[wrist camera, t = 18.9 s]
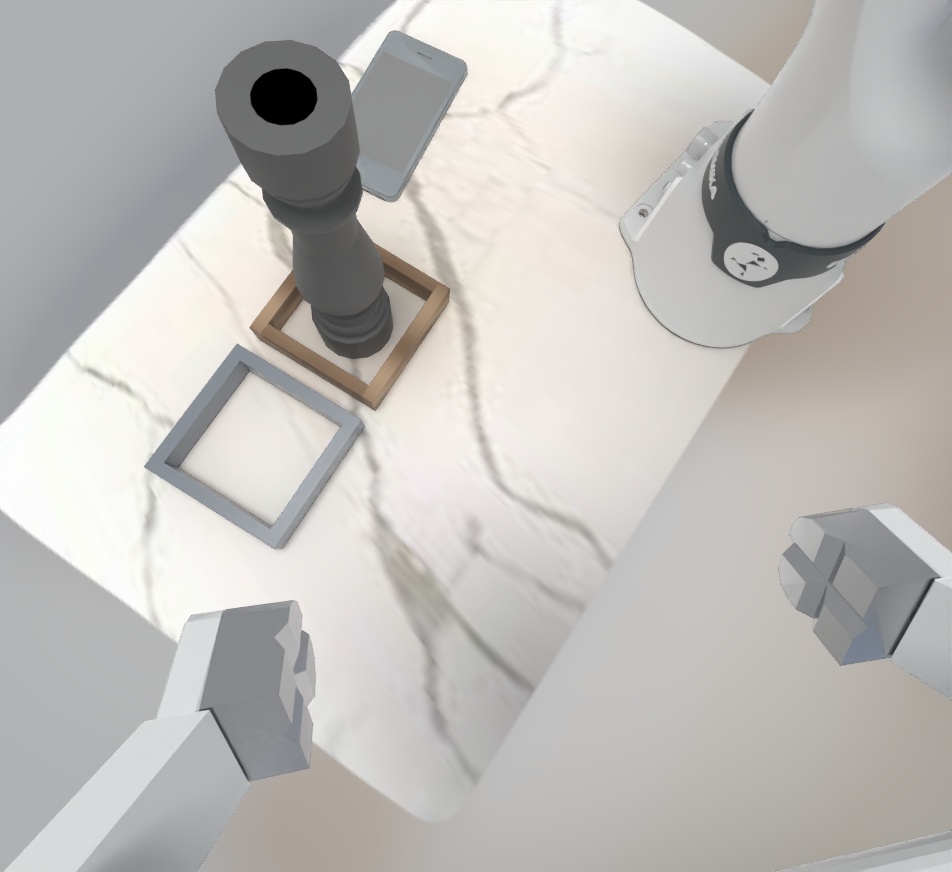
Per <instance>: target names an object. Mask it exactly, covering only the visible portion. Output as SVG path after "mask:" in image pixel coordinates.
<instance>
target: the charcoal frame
mask: <svg viewBox="0 0 952 872" xmlns="http://www.w3.org/2000/svg"><path fill="white" fill-rule="evenodd" d="M249 371H251V372H253V373H255V374H256V375H258V376H260V377H261V378H263V379H264V380H266V381H268V382H269V383H271V384H273V385H274V386H276V387H277V388H279V389H281V390H282V391H284V392H285V393H287V394H289V395H290V396H292V397H294V398H295V399H297V400H298V401H300V402H302V403H303V404H305V405H307V406H308V407H310V408H311V409H313V410H315V411H316V412H318V413H319V414H321V415H323V416H324V417H326V418H328V419H329V420H331V421H332V422H334V423H336V424H337V425H339V426H341V427H340V429H339V430H338V431H337V433H336V434H335V436H334V437H333V439H332V440H331V442H330V443H329V445H328V446H327V448H326V449H325V450H324V452H323V453H322V455H321V456H320V458H319V459H318V461H317V462H316V464H315V465H314V467H313V468H312V469H311V471H310V472H309V474H308V475H307V477H306V478H305V480H304V481H303V483H302V484H301V486H300V487H299V488H298V490H297V491H296V493H295V494H294V496H293V497H292V499H291V500H290V502H289V503H288V505H287V506H286V507H285V509H284V510H283V512H282V513H281V515H280V516H279V518H278V519H277V521H276V522H275V524H274V525H273V526H270V525H269V524H267V523H265V522H264V521H262V520H261V519H259V518H257V517H256V516H254V515H253V514H251V513H249V512H248V511H246V510H245V509H243V508H241V507H240V506H238V505H237V504H235V503H234V502H232V501H230V500H229V499H227V498H226V497H224V496H222V495H221V494H219V493H218V492H216V491H214V490H213V489H211V488H210V487H208V486H206V485H205V484H203V483H202V482H200V481H199V480H197V479H195V478H194V477H192V476H191V475H189V474H187V473H186V472H184V471H183V470H181V469H179V468H178V467H179V465H180V464H181V462H182V461H183V460H184V458H185V457H186V456H187V454H188V453H189V452H190V450H191V449H192V448H193V446H194V445H195V444H196V442H197V441H198V440H199V438H200V437H201V436H202V434H203V433H204V431H205V430H206V429H207V427H208V426H209V425H210V423H211V422H212V421H213V419H214V418H215V417H216V415H217V414H218V413H219V411H220V410H221V409H222V407H223V406H224V405H225V403H226V402H227V400H228V399H229V398H230V396H231V395H232V394H233V392H234V391H235V390H236V388H237V387H238V386H239V384H240V383H241V382H242V380H243V379H244V378H245V376H246V375H247V374H248V372H249ZM363 428H364V425H363V423H362V421H361V420H360V419H359V418H357V417H356V416H354V415H352V414H351V413H349V412H347V411H346V410H344V409H343V408H341V407H339V406H338V405H336V404H334V403H333V402H331V401H330V400H328V399H326V398H325V397H323V396H321V395H320V394H318V393H317V392H315V391H313V390H312V389H310V388H308V387H307V386H305V385H304V384H302V383H300V382H299V381H297V380H295V379H294V378H292V377H291V376H289V375H287V374H286V373H284V372H282V371H281V370H279V369H278V368H276V367H274V366H273V365H271V364H270V363H268V362H266V361H265V360H263V359H261V358H260V357H258V356H257V355H255V354H253V353H252V352H250V351H248V350H247V349H245V348H244V347H242V346H240V345H239V344H236V346H235V347H234V348H233V350H232V351H231V352H230V354H229V355H228V356H227V358H226V359H225V360H224V361H223V363H222V364H221V365H220V367H219V368H218V369H217V371H216V372H215V373H214V375H213V376H212V377H211V379H210V380H209V381H208V383H207V384H206V385H205V387H204V388H203V389H202V391H201V392H200V393H199V395H198V396H197V397H196V399H195V400H194V401H193V402H192V404H191V405H190V406H189V408H188V409H187V410H186V412H185V413H184V414H183V416H182V417H181V418H180V420H179V421H178V422H177V424H176V425H175V426H174V428H173V429H172V430H171V432H170V433H169V434H168V436H167V437H166V438H165V439H164V441H163V442H162V443H161V445H160V446H159V447H158V449H157V450H156V451H155V453H154V454H153V455H152V457H151V458H150V459H149V461H148V462H147V463H146V465H145V466H144V467H145V468H146V469H148V470H150V471H151V472H153V473H154V474H156V475H158V476H159V477H161V478H162V479H164V480H165V481H167V482H169V483H170V484H172V485H173V486H175V487H177V488H178V489H180V490H181V491H183V492H185V493H186V494H188V495H189V496H191V497H192V498H194V499H196V500H197V501H199V502H200V503H202V504H204V505H205V506H207V507H208V508H210V509H212V510H213V511H215V512H216V513H218V514H219V515H221V516H223V517H224V518H226V519H227V520H229V521H231V522H232V523H234V524H235V525H237V526H239V527H240V528H242V529H243V530H245V531H246V532H248V533H250V534H251V535H253V536H254V537H256V538H258V539H259V540H261V541H262V542H264V543H266V544H267V545H269V546H270V547H272V548H273V549H282V548H283V547H284V546H285V544H286V543H287V541H288V540H289V538H290V537H291V535H292V534H293V532H294V531H295V529H296V528H297V526H298V525H299V523H300V522H301V520H302V519H303V517H304V516H305V514H306V513H307V511H308V510H309V508H310V507H311V505H312V504H313V502H314V501H315V500H316V498H317V497H318V495H319V494H320V492H321V491H322V489H323V488H324V486H325V485H326V483H327V482H328V480H329V479H330V477H331V476H332V474H333V473H334V471H335V470H336V468H337V467H338V465H339V464H340V462H341V461H342V459H343V458H344V456H345V455H346V454H347V452H348V451H349V449H350V448H351V446H352V445H353V443H354V442H355V440H356V439H357V437H358V436H359V434H360V433H361V431H362V430H363Z"/></svg>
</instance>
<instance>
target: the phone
mask: <svg viewBox="0 0 952 872" xmlns="http://www.w3.org/2000/svg"><path fill="white" fill-rule="evenodd" d="M466 75H467V65H466V63H465V62H464V61H463V60H461V59H459V58H457V57H454V56H452V55H450V54H448V53H446V52H443V51H441V50H439V49H437V48H435V47H432V46H430V45H428V44H426V43H424V42H421V41H419V40H417V39H415V38H412V37H410V36H408V35H406V34H404V33H401V32H399V31H391V32H389V33H388V35H387V36H386V38H385V40H384V41H383V43H382V45H381V46H380V48H379V50H378V51H377V53H376V55H375V56H374V58H373V60H372V61H371V63H370V65H369V66H368V68H367V70H366V71H365V73H364V75H363V76H362V78H361V80H360V81H359V83H358V85H357V86H356V88H355V90H354V91H353V93H352V94H351V97H352V103H353V109H354V115H355V120H356V126H357V132H358V140H359V147H360V154H359V157H358V160H357V163H356V167H357V169H358V170H359V172H360V176H361V184H362V188H363V189H365V190H367V191H369V192H370V194H371V195H373V196H376V197H378V198H380V199H382V200H384V201H387V202H395V201H397V200H398V199H399V197H400V195H401V193H402V191H403V190H404V188H405V186H406V184H407V182H408V181H409V179H410V177H411V175H412V173H413V171H414V170H415V168H416V166H417V164H418V162H419V161H420V159H421V157H422V155H423V153H424V152H425V150H426V148H427V146H428V144H429V142H430V141H431V139H432V137H433V135H434V133H435V132H436V130H437V128H438V126H439V124H440V123H441V121H442V119H443V117H444V115H445V114H446V112H447V110H448V108H449V106H450V104H451V103H452V101H453V99H454V97H455V95H456V94H457V92H458V90H459V88H460V86H461V85H462V83H463V81H464V79H465V77H466Z"/></svg>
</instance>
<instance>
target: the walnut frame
mask: <svg viewBox="0 0 952 872" xmlns="http://www.w3.org/2000/svg"><path fill="white" fill-rule="evenodd" d="M374 245H375V246H376V248H377V249H378V251H379V253H380V254H381V256H382V261H383V268H384V276H386V277H388V278H389V279H391V280H393V281H394V282H396V283H397V284H399V285H401V286H402V287H404V288H406V289H407V290H409V291H411V292H412V293H414V294H416V295H417V296H419V297H421V298H422V299H424V300H426V303H425V304H424V306H423V307H422V309H421V310H420V312H419V313H418V315H417V316H416V317H415V319H414V320H413V322H412V323H411V325H410V326H409V328H408V329H407V331H406V332H405V334H404V335H403V336H402V338H401V339H400V341H399V342H398V344H397V345H396V347H395V348H394V350H393V351H392V353H391V354H390V355H389V357H388V358H387V360H386V361H385V363H384V364H383V366H382V367H381V369H380V370H379V372H378V373H377V374H376V376H375V377H374V379H373V380H372V382H371V383H370V385H369V386H368V385H367V384H365V383H364V382H362V381H360V380H359V379H357V378H355V377H354V376H352V375H350V374H349V373H347V372H346V371H344V370H342V369H341V368H339V367H337V366H336V365H334V364H333V363H331V362H329V361H328V360H326V359H324V358H323V357H321V356H319V355H318V354H316V353H315V352H313V351H311V350H310V349H308V348H306V347H305V346H303V345H302V344H300V343H298V342H297V341H295V340H293V339H292V338H290V337H288V336H287V335H285V334H284V333H282V332H280V331H279V330H280V329H281V328H282V326H283V325H284V324H285V322H286V321H287V320H288V318H289V317H290V316H291V314H292V313H293V312H294V310H295V309H296V307H297V306H298V305H299V303H300V302H301V301H302V299H303V296H302V294H301V293H300V291H299V289H298V288H297V286H296V284H295V282H294V273H293V270H292V272H291V273H290V274H289V276H288V277H287V278H286V280H285V281H284V282H283V283H282V285H281V286H280V287H279V289H278V290H277V291H276V293H275V294H274V295H273V297H272V298H271V299H270V301H269V302H268V303H267V305H266V306H265V307H264V309H263V310H262V311H261V313H260V314H259V315H258V317H257V318H256V319H255V321H254V322H253V323H252V324H251V326H250V329H251V330H252V331H253V332H254V334H255V335H256V336H257V338H258V339H260V340H261V341H263V342H265V343H266V344H268V345H269V346H271V347H273V348H274V349H276V350H278V351H279V352H281V353H282V354H284V355H286V356H287V357H289V358H291V359H292V360H294V361H295V362H297V363H299V364H300V365H302V366H304V367H305V368H307V369H308V370H310V371H312V372H313V373H315V374H317V375H318V376H320V377H321V378H323V379H325V380H326V381H328V382H330V383H331V384H333V385H335V386H336V387H338V388H339V389H341V390H343V391H344V392H346V393H348V394H349V395H351V396H352V397H354V398H356V399H357V400H359V401H361V402H362V403H364V404H365V405H367V406H369V407H370V408H372V409H374V410H376V409H377V408H378V406H379V405H380V403H381V402H382V400H383V399H384V397H385V396H386V394H387V393H388V391H389V390H390V388H391V387H392V385H393V384H394V382H395V381H396V379H397V378H398V376H399V375H400V373H401V372H402V370H403V369H404V367H405V366H406V364H407V363H408V361H409V360H410V359H411V357H412V356H413V354H414V353H415V351H416V350H417V348H418V347H419V345H420V344H421V342H422V341H423V339H424V338H425V336H426V335H427V333H428V332H429V330H430V329H431V327H432V326H433V324H434V323H435V321H436V320H437V318H438V317H439V315H440V314H441V313H442V311H443V310H444V308H445V307H446V305H447V304H448V302H449V293H450V288H448V287H446V286H445V285H443V284H441V283H440V282H438V281H436V280H435V279H433V278H431V277H430V276H428V275H426V274H425V273H423V272H421V271H420V270H418V269H416V268H415V267H413V266H411V265H410V264H408V263H406V262H405V261H403V260H401V259H400V258H398V257H396V256H395V255H393V254H391V253H390V252H388V251H386V250H385V249H383V248H381V247H380V246H378V245H376V244H375V243H374Z"/></svg>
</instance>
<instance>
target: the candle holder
mask: <svg viewBox="0 0 952 872" xmlns="http://www.w3.org/2000/svg"><path fill="white" fill-rule="evenodd" d="M215 94H216V106H217V114H218V116H219V118H220V120H221V122H222V124H223V126H224V128H225V131H226V133H227V135H228V137H229V139H230V141H231V143H232V145H233V147H234V149H235V151H236V153H237V155H238V158H239V160H240V162H241V164H242V165H243V167H244V169H245V170H246V172H247V174H248V175H249V177H250V179H251V180H252V181H253V182H254V183H255V184H257V185H258V186H260V187H261V188H262V193H263V199H264V201H265V203H266V205H267V206H268V208H269V210H270V211H271V213H272V215H273V217H274V218H275V219H277V220H278V221H279V222H281V223H282V224H283V225H285V226H286V227H288V228H289V229H290V230H291V231H292V234H293V273H294V282H295V284H296V286H297V288H298V289H299V291H300V293H301V294H302V296H303V298H304V300H305V301H307V302H308V303H309V304H311V310H312V319H313V321H314V323H315V325H316V328H317V330H318V332H319V334H320V335H321V337H322V339H323V341H324V342H325V344H326V346H327V347H328V348H330V349H331V350H332V351H334V352H335V353H336V354H338V355H340V356H344V357H348V358H351V359H356V358H364V357H369V356H371V355H372V354H374V353H376V352H378V351H380V350H381V349H382V348H383V346H384V345H385V344H386V343H387V342H388V340H389V338H390V335H391V332H392V328H393V322H392V315H391V308H390V302H389V296H388V295H387V293H386V291H385V290H384V288H383V286H382V284H383V280H384V277H385V276H384V268H383V261H382V256H381V254H380V253H379V251H378V249H377V248H376V246H375V245H374V243H373V241H372V240H371V239H370V237H369V236H368V234H367V233H366V232H365V230H364V229H363V227H362V226H361V224H360V223H359V221H358V220H357V218H356V212H357V210H358V207H359V204H360V201H361V197H362V194H363V191H362V184H361V176H360V172H359V170H358V169H357V167H356V163H357V160H358V157H359V154H360V147H359V140H358V132H357V126H356V120H355V115H354V109H353V103H352V97H351V91H350V85H349V80H348V79H347V77H346V76H345V74H344V72H343V71H342V69H341V68H340V66H339V65H338V63H337V62H336V61H335V60H334V59H332V58H331V57H330V56H328V55H327V54H325V53H324V52H323V51H321V50H320V49H318V48H317V47H315V46H311V45H307V44H304V43H300V42H296V41H292V40H285V41H269V42H263V43H261V44H258V45H256V46H254V47H251V48H249V49H246V50H244V51H242V52H240V53H239V54H238V55H237V56H236V57H235V58H234V59H233V60H232V61H231V62H230V63H229V64H228V65H227V66H226V67H225V68H224V69H223V72H222V74H221V77H220V79H219V82H218V84H217V87H216V89H215Z"/></svg>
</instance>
